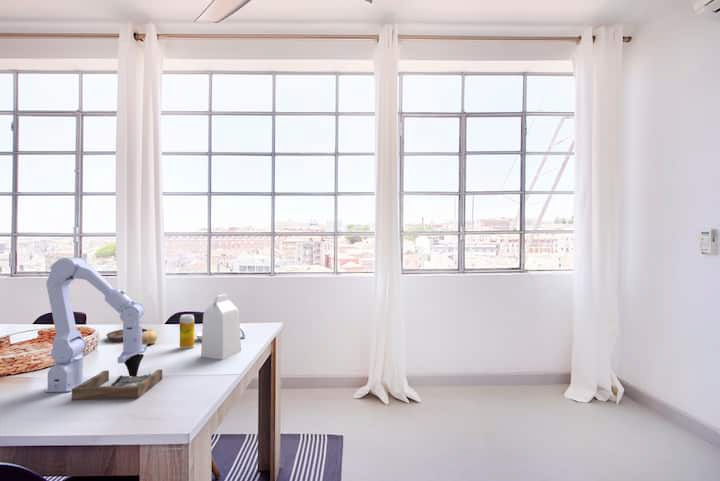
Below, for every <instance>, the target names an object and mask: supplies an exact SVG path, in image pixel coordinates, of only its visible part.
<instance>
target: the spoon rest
mask: <svg viewBox="0 0 720 481" xmlns="http://www.w3.org/2000/svg"><path fill="white" fill-rule="evenodd" d="M240 333H241V336H242V338H243V339H246V336H247V334H246V330H245V329H244V327H243V326H241V325H240ZM195 337H196V338H197V339H198V340H200V341H202V331H200V332H197V333H196V335H195Z"/></svg>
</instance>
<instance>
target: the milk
mask: <svg viewBox="0 0 720 481" xmlns="http://www.w3.org/2000/svg"><path fill="white" fill-rule="evenodd" d="M228 294H229V293H228ZM228 294H227V293H223V294H220V295H216V296H215V298H214V300H213V303H212V304H210V306H209V307H208V308H207V309H206V310H205V311H204V312H203V314H202V340H201V350H200V351H201V352H200V357H202V358H210V359H216V360H217V359H218V360H222V361H223V360H225V359H227V358H229V357H231V356H235V355H236V354H239V353H240V352H242V342H241V331H240V326H241V325H240V323H241V322H240V311H239V309H238V308H237V306H235V304H234V303H233V302H232V301H231V300H230V298H229V295H228Z"/></svg>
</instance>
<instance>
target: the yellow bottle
mask: <svg viewBox="0 0 720 481" xmlns="http://www.w3.org/2000/svg"><path fill="white" fill-rule="evenodd" d="M194 346H195V316H194V314H192V313H191V314H190V313H188V314H186V313H185V314H182V315H180V317H179V347H180V349H181V350H187V349H188V350H189V349H192V348H194Z"/></svg>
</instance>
